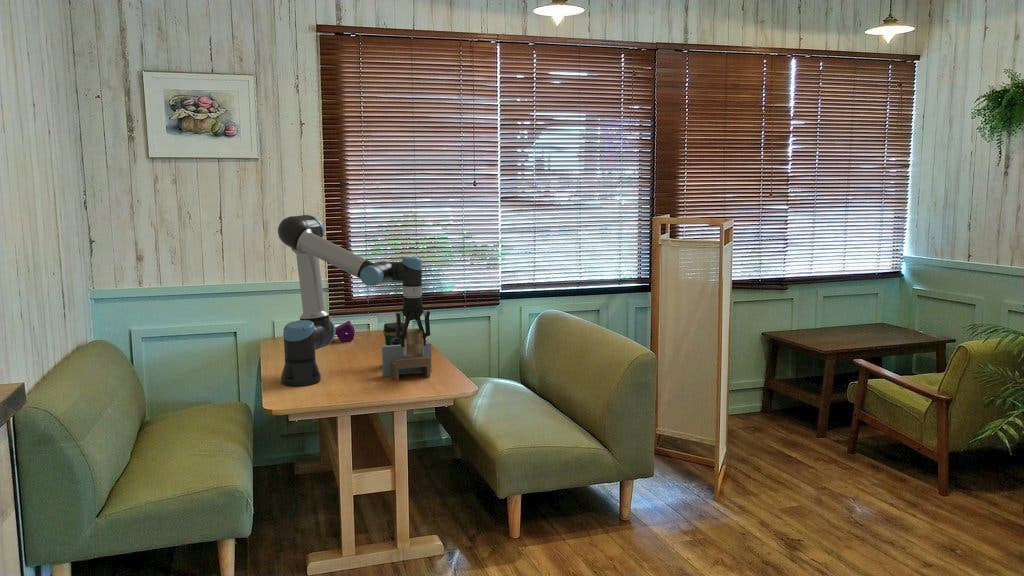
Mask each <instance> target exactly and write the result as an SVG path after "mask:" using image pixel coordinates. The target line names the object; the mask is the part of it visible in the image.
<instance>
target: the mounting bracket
mask: <svg viewBox="0 0 1024 576" xmlns="http://www.w3.org/2000/svg"><path fill="white" fill-rule="evenodd" d="M335 329H336V333H335V336H336V337H337V338H338V340H339V341H340V342H341V343H343V342H349V343H351V342H352V341H353V340H354V338H355V332H356V331H355V328H354V326H353V324H352V322H351V320H348V321H346V322H343V323H342V324H340V325H338V326H335Z"/></svg>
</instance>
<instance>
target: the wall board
mask: <svg viewBox="0 0 1024 576" xmlns="http://www.w3.org/2000/svg"><path fill="white" fill-rule="evenodd" d="M423 352H424V354H423V356H417V357H407V356H405V355H403V347H401V345H390V346H385V345H383V346H381V360H382V361H381V364H382V376H383V377H390V376H391V378H393V379H394V380H395V381H400V376H401V375H400V374H402V375H412V374H411V373H413V374H423V375H424V376H425V377H426V378H431V372H433V371H432V343H431V342H430V341H429V342H427V341H426V345H425V346H423Z"/></svg>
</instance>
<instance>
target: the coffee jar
mask: <svg viewBox="0 0 1024 576" xmlns="http://www.w3.org/2000/svg"><path fill="white" fill-rule="evenodd" d="M403 326H404V322H403V321H401V330H400V335H401V332H402V329H403ZM383 336H384V339H385V340H384V342H385V343H384V346H390V345H401V339H400V338H397V337H396V321H395V322H387V323H384V325H383Z"/></svg>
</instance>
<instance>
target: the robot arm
mask: <svg viewBox="0 0 1024 576" xmlns="http://www.w3.org/2000/svg"><path fill="white" fill-rule="evenodd" d="M277 235H278V238H279V240H280V241H281V243H283V244H284V245H286V246H287V247H289V248H291V251H292V252H293V253H295V256H296V257H295V258H296V263H297V264H296V265H297V273H298V279H299V280H298V281H299V289H300V297H301V305H302V314H301V315H300V316H299V320H296V321H289V322H288V323H287V324H285V325H284V327H283V334H282V337H283V349H284V365H283V370H282V373H281V375H280V376H281V377H280V384H282V385H283V384H285V386H288V385H290V386H289V387H303V386H302V385H305V386H311V385H315V384H318V383H320V382H321V381H322V379H321V378H322V377H321V372H320V370H319V367H318V365H317V361H316V351H317V350H318V349H321V348H324V347H327V346H329V344H331V342H333V340H334V339H335V336H336V335H335V333H336V329H335V327H336V326H335V324H334V322H333V321H332V320H331V319H330V313H329V312H327V311H326V310H325V309H326V308H325V301H324V294H323V284H322V276H321V267H320V260H321V261H323V262H326V263H328V264H330V265H332V266H333V267H335V268H338V269H340V270H341V271H344V272H346V273H348V274H351V275H352V276H355V277H357V278H359V279H360V280H361V282H362V283H363V284H364V285H366V286H368V287H374V286H375V287H376V286H378V285H381V284H383V283H386V282H402V296H403V298H402V310H401V311H399V312H395V317H396V320H395V322H396V337H397V338H400V339H401V347H403V355H405V356H407V339H405V335H406V331H407V329H409V325H410V322H411V321H416V323H417V328H419V329H420V330H422V332H423V346H425V345H426V343H427V338H428V337H429V336H431V326H430V315H431V311H429V310H426V309H425V310H424V309H423V297H422V295H423V267H422V266H423V265H422V259H421V258H420V257H418V256H404V257H402V260H401V261H385V260H381V261H375V262H372V261H370V260H368V259H366V258H365V257H362V256H360V255H358V254H357V253H354V252H352V251H349V250H348V249H345V248H343V247H341V246H340V245H337V244H335V243H334V242H331V241H329V240H327V239H325V238H323V237H324V236H325V227H324V224H323V222H322V221H321V220H320V219H319V218H317V216H314V215H310V214H302V215H293V216H288V217H285V218H284V219H282V220H281V221H280V223H279V225H278V227H277ZM422 315H423V316H424V325H423V324H422V318H421V317H422ZM403 316H404V322H403V323H404V326H403V329H402V332H401V335H400V330H401V322H402V317H403ZM423 354H424V352H423ZM320 380H321V381H320ZM319 381H320V382H319ZM317 382H318V383H317ZM310 384H311V385H310Z"/></svg>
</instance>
